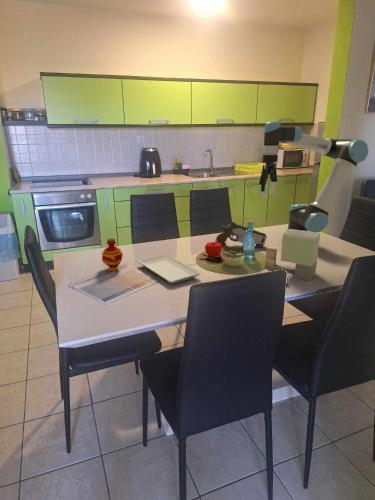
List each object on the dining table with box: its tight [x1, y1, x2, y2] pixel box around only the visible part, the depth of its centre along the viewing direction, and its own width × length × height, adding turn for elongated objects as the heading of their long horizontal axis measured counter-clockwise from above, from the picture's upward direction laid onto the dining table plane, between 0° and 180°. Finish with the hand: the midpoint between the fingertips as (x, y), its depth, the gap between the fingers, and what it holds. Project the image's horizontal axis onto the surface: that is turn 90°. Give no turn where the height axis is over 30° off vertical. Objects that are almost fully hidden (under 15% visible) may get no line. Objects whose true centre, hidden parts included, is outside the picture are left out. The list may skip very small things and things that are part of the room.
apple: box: [204, 241, 223, 259], centre depth 183 cm, size 9×9×8 cm
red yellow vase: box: [101, 237, 124, 272], centre depth 167 cm, size 10×10×15 cm
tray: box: [138, 254, 201, 284], centre depth 164 cm, size 17×32×4 cm, turn 34°
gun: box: [214, 221, 268, 249], centre depth 201 cm, size 5×27×15 cm, turn 79°
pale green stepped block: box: [280, 229, 321, 282], centre depth 158 cm, size 10×15×20 cm
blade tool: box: [264, 245, 295, 274], centre depth 166 cm, size 4×15×10 cm, turn 57°
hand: (267, 195), depth 182 cm, fingers open, 13 cm apart
